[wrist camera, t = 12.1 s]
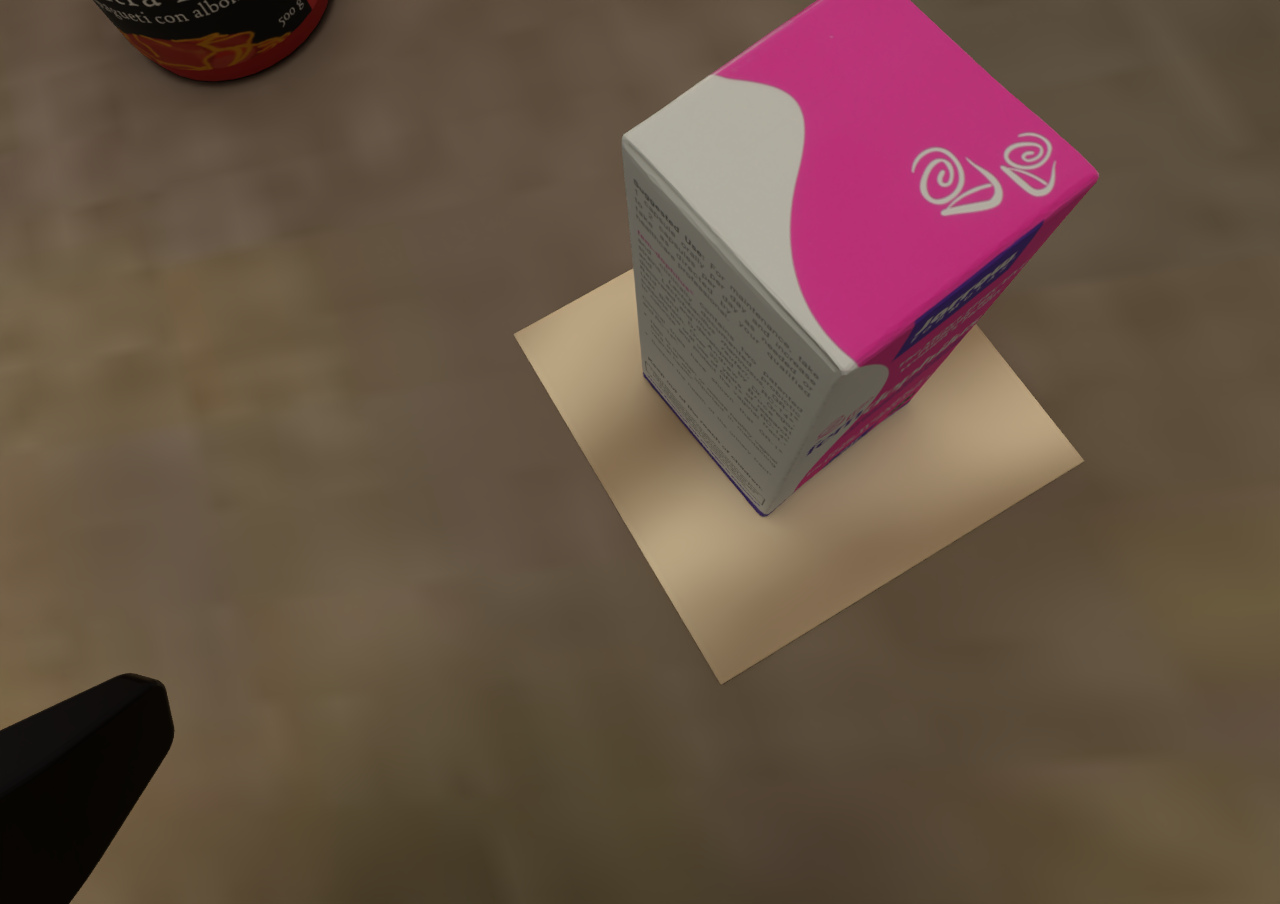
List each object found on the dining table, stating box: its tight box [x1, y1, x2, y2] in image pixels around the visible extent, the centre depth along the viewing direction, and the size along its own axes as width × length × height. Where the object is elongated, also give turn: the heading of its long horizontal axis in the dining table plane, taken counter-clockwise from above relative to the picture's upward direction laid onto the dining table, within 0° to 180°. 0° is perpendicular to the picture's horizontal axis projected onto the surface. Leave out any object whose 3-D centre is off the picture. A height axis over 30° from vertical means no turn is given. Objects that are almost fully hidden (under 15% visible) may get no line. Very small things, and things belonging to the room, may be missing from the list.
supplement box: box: [622, 0, 1099, 517], centre depth 19 cm, size 6×6×12 cm
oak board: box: [514, 269, 1084, 685], centre depth 25 cm, size 12×12×1 cm
